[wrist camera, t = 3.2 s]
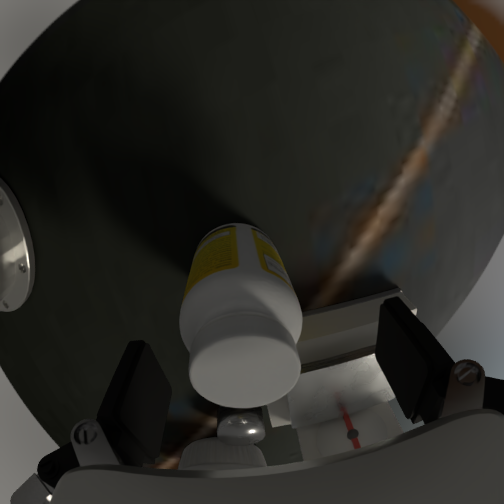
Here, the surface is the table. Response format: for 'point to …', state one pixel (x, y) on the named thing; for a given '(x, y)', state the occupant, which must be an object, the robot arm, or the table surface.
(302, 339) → the scale housing
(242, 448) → the ramekin
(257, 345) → the supplement bottle
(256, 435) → the shiny gray ball
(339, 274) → the table surface
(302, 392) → the pan
